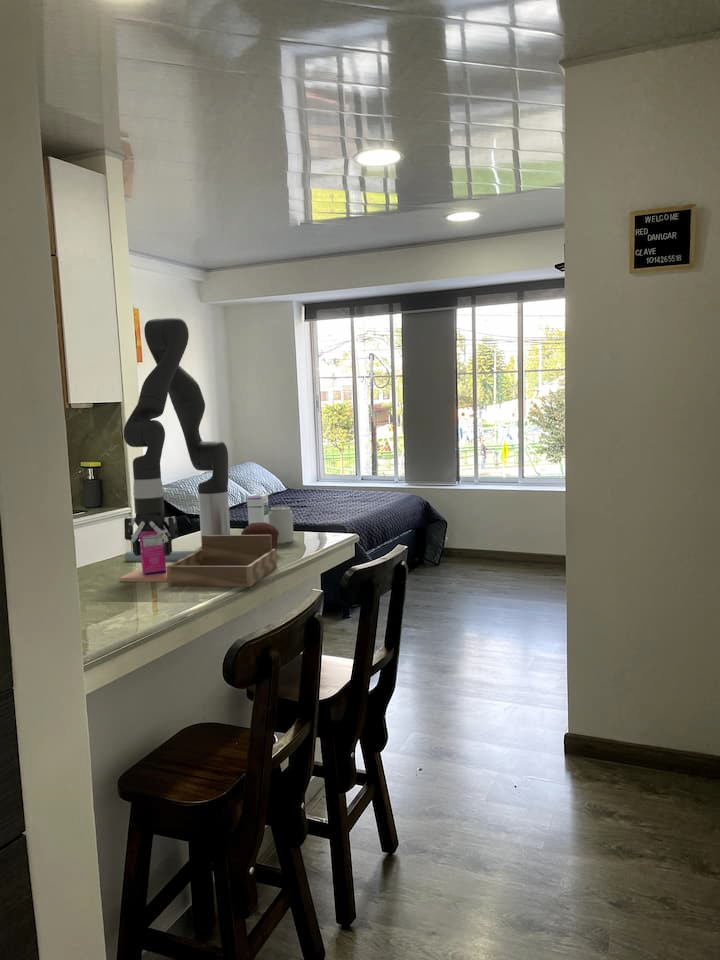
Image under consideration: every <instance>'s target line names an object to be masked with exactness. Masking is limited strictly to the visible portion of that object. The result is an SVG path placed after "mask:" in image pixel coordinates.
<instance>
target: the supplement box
mask: <svg viewBox="0 0 720 960" xmlns="http://www.w3.org/2000/svg"><path fill="white" fill-rule="evenodd" d="M158 532H159V531H158ZM158 532H156V531H141V532H140V536H139V538H140V539H139V541H140V550H141V561H140V562H141V567H142V571H143V572H144V574H145V575H151V574H159V573H166V567H167V565H166V564H167V563H166V561H165V553H164V542H165V541H164V540H163V539H162V537H161V536H159V535H158Z"/></svg>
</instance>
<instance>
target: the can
mask: <svg viewBox="0 0 720 960" xmlns="http://www.w3.org/2000/svg"><path fill="white" fill-rule="evenodd" d="M293 518H294V517H293V511H292V510H291V507H290V506H274V507H271V508H270V510H269V524H271V525H272V526H274V527H275V528H276V529H277V530H278V532H279V533H280V534H279V536H278V541H277V544H287V543H286V542H289V543H291V541H292V542H293V540H295V538H294V537H295V536H294V519H293Z"/></svg>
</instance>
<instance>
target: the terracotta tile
mask: <svg viewBox="0 0 720 960" xmlns="http://www.w3.org/2000/svg"><path fill="white" fill-rule="evenodd" d="M119 582H126V583H127V582H128V583H129V582H132V583H133V582H135V583H136V582H145V583H146V582H148V583H149V582H152V583H153V582H155V583H156V582H159V583H160V582H161V583H162V582H163V583H165V582H167V583H168V581H167V566H166V573H159V574H151V575H145V574H144V572H143V571H142V566H141V567H139V568H137V569H134V570H133V571H131V572H129V573H126V574H124V575H122V576H120V577H119Z"/></svg>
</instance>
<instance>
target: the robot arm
mask: <svg viewBox="0 0 720 960" xmlns="http://www.w3.org/2000/svg"><path fill="white" fill-rule="evenodd" d="M143 329H144V331H143V332H144V338H145V342H146V344H147V347H148V349H149V351H150V353H151V356H152V358H153V360H154V362H155V364H156V366H155V367H154V368H153V369H152V370H151V371H150V373H149V374H148V375H147V376H146V378H145V379H144V381H143V382H142V386H141V388H140V393H139V396H138V401H137V404H136V406H135V407H134V409H133V410H132V412H131V414H130V415H129V417H128V419H127V420H126V422H125V425H124V426H123V427H124V428H123V439H124V442H125V444H126V445H127V446H129V447H130V448H131V447H132V448H146V452H145V454H144V455H140V456H136V457H135V458H134V459H133V460H132V470H133V471H132V474H133V492H132V493H133V502H134V513H135V517H132V516H127V517H125V518H124V539H125V540H126V541H130V542H131V543H132V551H133V553H134V554H135V556H139V555H141V550H140V538H139V536H140V532H141V531H156V532H158V531H159V532H158V535H159V536H161V537H162V539H163V540H164V553H165V556H168V555H170V553H172V551H173V544H172V542H173V540H175V539H178V538H179V532H178V531H179V530H178V521H177V517H176V516H175V515H173V516H168V517H166V516H165V502H164V486H163V483H162V482H163V481H162V472H161V458H162V455H163V448H164V444H165V439H166V430H165V428H164V425H163V424H162V423H161V422H160V421H159V420H156V419H157V418H159V417H161V416H162V415H163V414H164V412H165V408H166V404H167V400H168V395H169V399H170V402H171V404H172V407H173V410H174V412H175V414H176V416H177V419H178V422H179V425H180V427H181V431H182V433H183V436H184V441H185V445H186V448H187V452H188V456H189V459H190V462H191V464H192V466H193V468H194V469H195V470H197V471H199V472H200V471H201V472H202V471H203V472H204V471H205V472H209V471H210V472H212V474H211V477H210V478H209V479H207V480H205V481H202V482H200V483H199V484H198V485H197V494H198V510H199V526H200V528H199V529H200V541H201V542H200V543H201V546H202V535H231V525H230V505H229V503H230V502H229V492H228V491H229V489H228V488H229V451H228V447H227V445H226V443H225V442H223V441H219V440H215V441H213V440H212V441H211V440H209V441H204V440H203V439H202V437H201V433H200V426H201V422H202V420H203V417H204V415H205V414H204V413H205V409H206V403H205V399H204V395H203V392H202V390H201V387H200V385H199V383H198V381H196V380H195V378H194V377H192V376H191V375H190V374H189V373H188V372H187V371H186V370H185V369H184V368H183V367H182V366H181V365H180V364H181V361H182V358H183V356H184V354H185V352H186V349H187V346H188V344H189V343H188V342H189V338H190V337H189V335H190V333H189V327H188V326H187V323H186V321H185V320H184V319H182V318H180V317H166V318H165V317H164V318H163V317H162V318H152V319H149V320H148V321H146V323H145V325H144V328H143ZM165 523H166V524H167V526H168V529H169V530H168V529H167V528H166V526H165ZM135 524H136V526H137V528H136V530H135V532H134V525H135Z"/></svg>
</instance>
